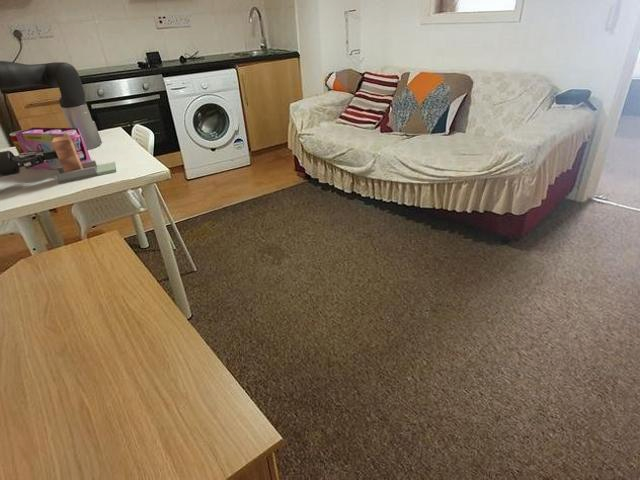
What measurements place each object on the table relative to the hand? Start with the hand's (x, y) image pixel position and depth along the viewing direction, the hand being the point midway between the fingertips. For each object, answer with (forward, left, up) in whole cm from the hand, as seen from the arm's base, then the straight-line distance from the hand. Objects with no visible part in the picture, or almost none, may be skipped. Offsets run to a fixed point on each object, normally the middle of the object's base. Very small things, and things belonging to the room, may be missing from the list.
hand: (58, 154), depth 131 cm
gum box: (-12, -12, -9) cm, 19 cm away
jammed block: (-1, +2, -7) cm, 8 cm away
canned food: (-16, -27, -9) cm, 32 cm away
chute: (-4, +5, -9) cm, 11 cm away
